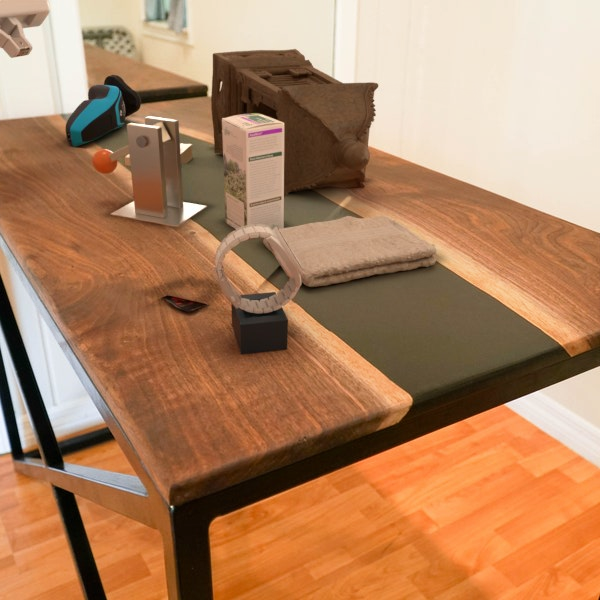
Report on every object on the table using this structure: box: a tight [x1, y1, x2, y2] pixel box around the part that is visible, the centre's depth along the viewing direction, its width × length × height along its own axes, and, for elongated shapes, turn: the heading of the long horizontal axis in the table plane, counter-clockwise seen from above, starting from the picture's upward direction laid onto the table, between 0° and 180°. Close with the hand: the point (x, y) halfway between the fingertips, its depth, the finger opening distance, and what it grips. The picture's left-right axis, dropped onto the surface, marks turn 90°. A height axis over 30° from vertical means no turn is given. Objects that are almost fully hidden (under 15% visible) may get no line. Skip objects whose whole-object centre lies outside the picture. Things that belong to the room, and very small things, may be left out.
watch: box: [213, 224, 304, 355], centre depth 60 cm, size 6×8×11 cm
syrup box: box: [222, 113, 285, 230], centre depth 81 cm, size 6×6×14 cm
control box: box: [124, 142, 194, 167], centre depth 108 cm, size 10×8×4 cm
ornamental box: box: [210, 48, 379, 196], centre depth 101 cm, size 35×18×18 cm, turn 27°
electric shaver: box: [65, 74, 142, 148], centre depth 124 cm, size 9×26×10 cm
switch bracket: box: [110, 115, 208, 229], centre depth 85 cm, size 10×8×13 cm
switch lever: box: [91, 122, 171, 175], centre depth 85 cm, size 12×3×3 cm, turn 69°
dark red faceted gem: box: [157, 294, 208, 313], centre depth 68 cm, size 5×5×1 cm
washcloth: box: [262, 215, 437, 288], centre depth 78 cm, size 12×18×3 cm, turn 116°
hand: (23, 53), depth 85 cm, fingers closed
